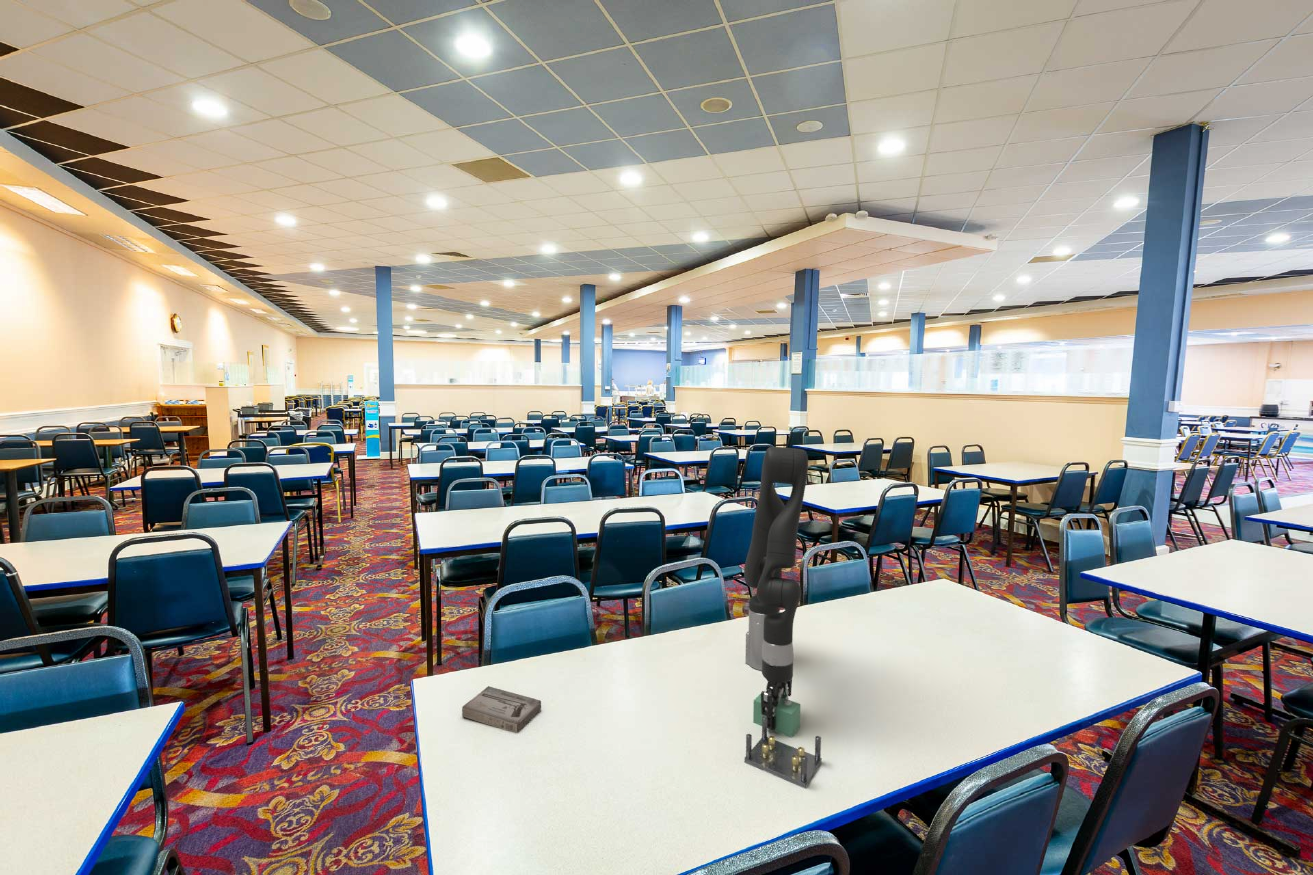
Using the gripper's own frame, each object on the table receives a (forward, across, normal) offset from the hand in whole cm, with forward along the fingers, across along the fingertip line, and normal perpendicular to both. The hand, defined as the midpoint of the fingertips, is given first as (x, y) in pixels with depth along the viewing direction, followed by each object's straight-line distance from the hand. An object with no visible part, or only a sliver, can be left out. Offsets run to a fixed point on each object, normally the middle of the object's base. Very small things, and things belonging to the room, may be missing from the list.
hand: (776, 721), depth 137 cm
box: (+1, +37, -59) cm, 70 cm away
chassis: (+1, +12, +7) cm, 14 cm away
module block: (+1, 0, 0) cm, 1 cm away
